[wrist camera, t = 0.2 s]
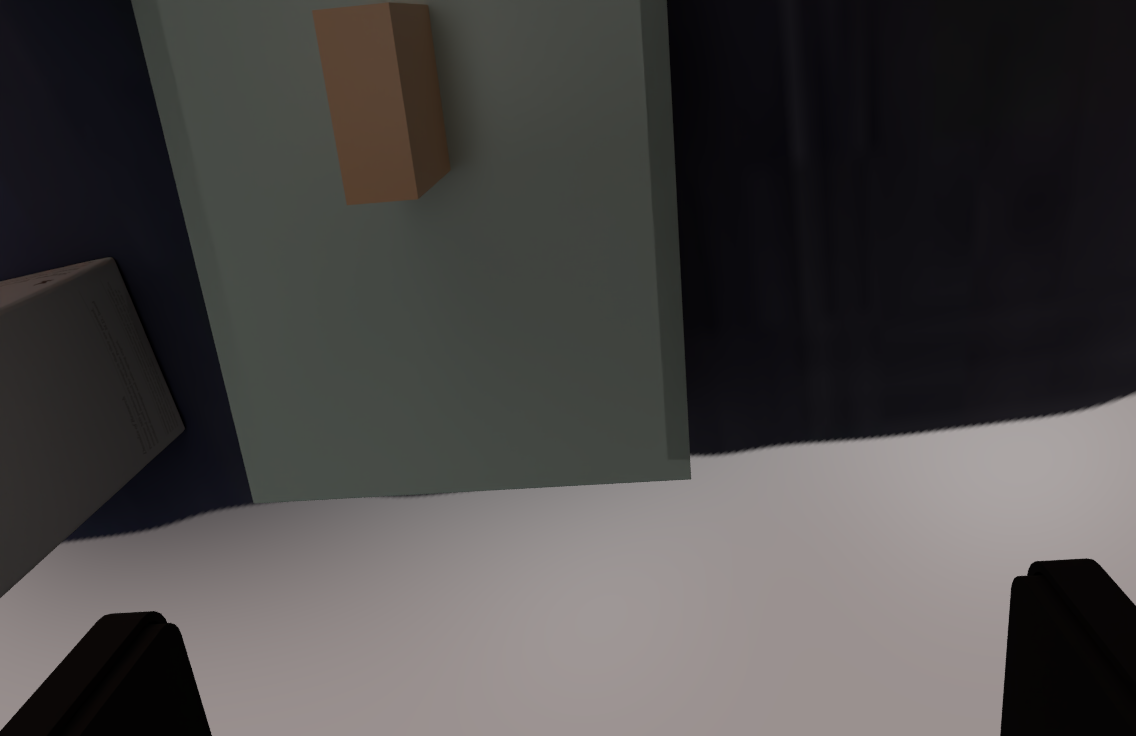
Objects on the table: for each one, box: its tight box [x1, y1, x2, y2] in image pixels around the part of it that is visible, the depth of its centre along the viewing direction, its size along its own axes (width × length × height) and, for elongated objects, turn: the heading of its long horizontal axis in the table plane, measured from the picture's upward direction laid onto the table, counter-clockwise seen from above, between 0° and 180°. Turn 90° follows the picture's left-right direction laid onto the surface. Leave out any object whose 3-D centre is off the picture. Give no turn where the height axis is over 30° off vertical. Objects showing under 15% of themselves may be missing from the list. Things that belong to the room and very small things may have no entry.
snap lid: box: [131, 0, 691, 503], centre depth 29 cm, size 22×16×7 cm
